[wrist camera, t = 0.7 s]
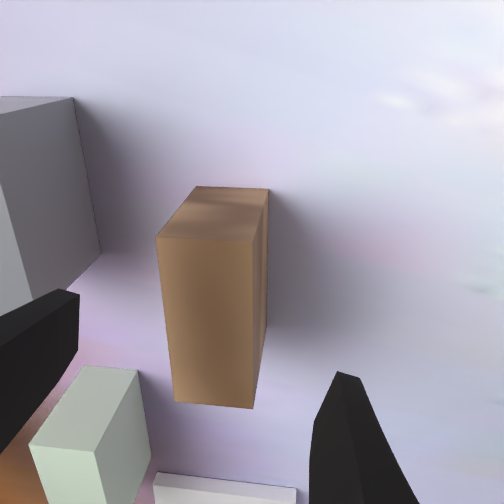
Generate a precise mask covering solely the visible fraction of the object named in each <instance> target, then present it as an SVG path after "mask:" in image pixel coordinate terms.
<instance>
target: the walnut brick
mask: <svg viewBox="0 0 504 504" xmlns="http://www.w3.org/2000/svg"><path fill="white" fill-rule="evenodd" d="M155 238H156V246H157V255H158V263H159V272H160V280H161V289H162V297H163V306H164V315H165V323H166V332H167V340H168V349H169V357H170V366H171V375H172V383H173V392H174V400H175V402H185V403H195V404H206V405H216V406H226V407H236V408H246V409H253V406H254V400H255V394H256V388H257V382H258V376H259V370H260V363H261V357H262V351H263V345H264V339H265V333H266V326H267V257H268V189H256V188H229V187H202V186H196V187H195V188H194V190H193V191H192V192H191V193H190V195H189V196H188V197H187V198H186V200H185V201H184V202H183V203H182V205H181V206H180V207H179V208H178V210H177V211H176V212H175V213H174V215H173V216H172V217H171V218H170V220H169V221H168V222H167V223H166V225H165V226H164V227H163V228H162V230H161V231H160V232H159V233H158V235H157V236H156V237H155Z"/></svg>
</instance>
